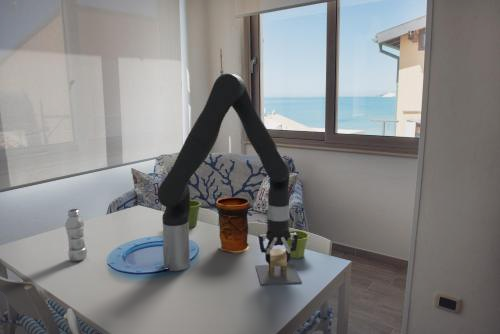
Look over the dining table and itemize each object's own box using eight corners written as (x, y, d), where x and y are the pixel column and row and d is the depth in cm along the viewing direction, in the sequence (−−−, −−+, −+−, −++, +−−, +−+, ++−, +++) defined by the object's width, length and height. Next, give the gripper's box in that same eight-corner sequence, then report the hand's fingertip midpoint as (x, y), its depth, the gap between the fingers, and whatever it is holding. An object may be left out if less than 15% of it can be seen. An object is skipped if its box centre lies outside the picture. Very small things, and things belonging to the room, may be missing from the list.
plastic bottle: (91, 257, 148) (86, 208, 144) (76, 264, 142) (71, 214, 138) (79, 254, 150) (74, 206, 147) (64, 261, 144) (59, 211, 141)
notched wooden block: (271, 277, 130) (270, 255, 128) (268, 270, 135) (268, 249, 134) (286, 276, 131) (286, 254, 129) (283, 269, 136) (283, 248, 134)
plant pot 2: (307, 261, 143) (307, 240, 142) (282, 259, 145) (283, 238, 144) (308, 251, 152) (309, 231, 151) (285, 249, 154) (285, 229, 153)
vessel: (209, 250, 154) (209, 203, 150) (225, 238, 167) (224, 195, 164) (242, 256, 149) (242, 207, 145) (255, 243, 162) (255, 198, 158)
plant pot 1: (190, 231, 175) (189, 208, 173) (171, 226, 182) (170, 204, 179) (206, 224, 185) (205, 202, 183) (188, 220, 191) (187, 198, 189)
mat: (260, 285, 126) (260, 284, 125) (255, 266, 139) (255, 265, 139) (301, 283, 127) (301, 281, 127) (292, 264, 141) (292, 263, 141)
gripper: (258, 221, 125) (258, 268, 128) (301, 219, 126) (300, 266, 129) (256, 214, 132) (256, 258, 135) (296, 212, 133) (295, 256, 137)
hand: (277, 262), depth 132 cm, fingers open, 6 cm apart
